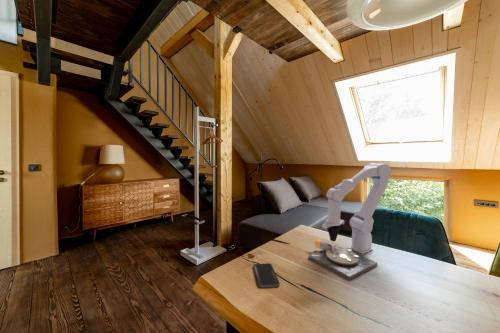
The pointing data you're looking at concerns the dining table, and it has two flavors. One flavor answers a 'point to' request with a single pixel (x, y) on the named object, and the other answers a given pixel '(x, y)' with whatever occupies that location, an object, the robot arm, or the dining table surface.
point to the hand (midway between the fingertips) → (332, 240)
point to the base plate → (343, 270)
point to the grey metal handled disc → (338, 254)
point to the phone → (265, 276)
